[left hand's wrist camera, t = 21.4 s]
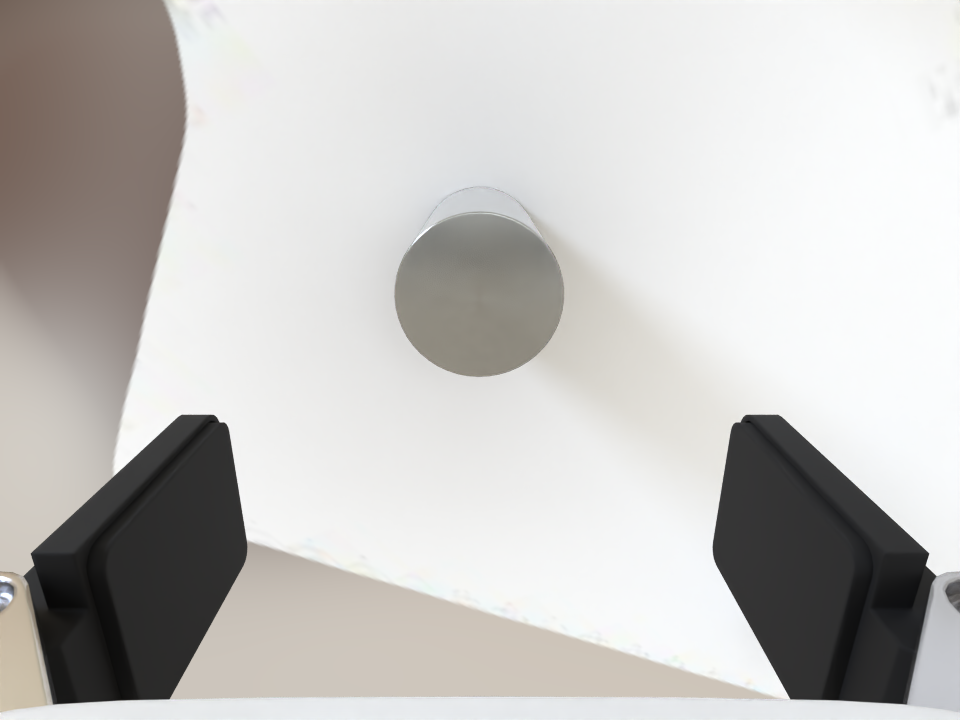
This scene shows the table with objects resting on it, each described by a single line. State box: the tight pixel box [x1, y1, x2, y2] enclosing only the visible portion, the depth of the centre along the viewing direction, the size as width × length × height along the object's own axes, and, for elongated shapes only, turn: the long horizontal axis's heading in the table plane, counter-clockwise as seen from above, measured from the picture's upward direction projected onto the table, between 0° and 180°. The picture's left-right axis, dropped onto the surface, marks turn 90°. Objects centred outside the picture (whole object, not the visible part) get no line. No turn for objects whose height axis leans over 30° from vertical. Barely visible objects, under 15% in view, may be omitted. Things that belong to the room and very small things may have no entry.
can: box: [395, 187, 564, 377], centre depth 29 cm, size 7×7×12 cm
